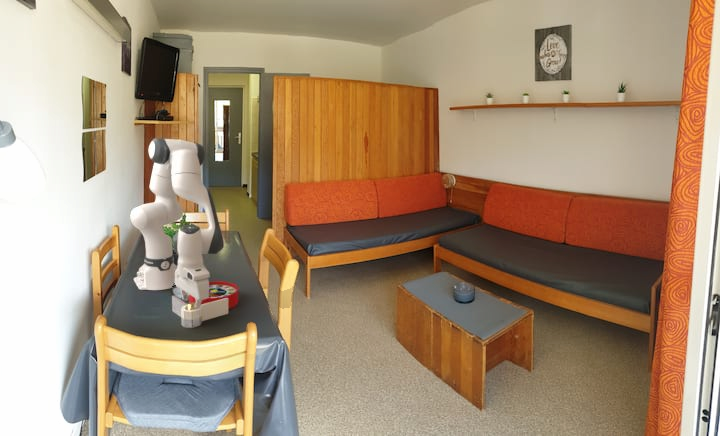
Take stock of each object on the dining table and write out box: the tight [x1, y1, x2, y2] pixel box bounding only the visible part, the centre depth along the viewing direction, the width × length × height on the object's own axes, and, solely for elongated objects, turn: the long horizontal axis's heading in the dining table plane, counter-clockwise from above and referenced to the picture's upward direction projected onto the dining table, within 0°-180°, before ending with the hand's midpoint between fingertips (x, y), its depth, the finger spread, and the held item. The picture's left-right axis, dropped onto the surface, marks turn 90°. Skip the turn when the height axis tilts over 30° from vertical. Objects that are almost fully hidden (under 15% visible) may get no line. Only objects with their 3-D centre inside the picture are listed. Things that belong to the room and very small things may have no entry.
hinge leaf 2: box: [180, 298, 229, 322], centre depth 176 cm, size 7×19×6 cm, turn 137°
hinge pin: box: [187, 302, 196, 310], centre depth 172 cm, size 3×3×8 cm
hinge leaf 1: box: [171, 295, 203, 329], centre depth 176 cm, size 19×7×6 cm, turn 47°
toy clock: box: [188, 281, 239, 310], centre depth 194 cm, size 20×6×20 cm
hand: (191, 303), depth 171 cm, fingers open, 8 cm apart
